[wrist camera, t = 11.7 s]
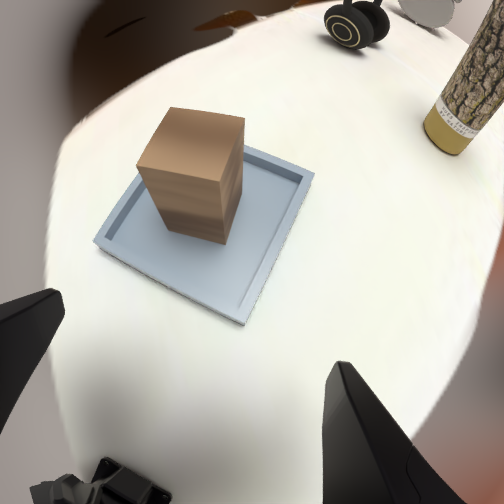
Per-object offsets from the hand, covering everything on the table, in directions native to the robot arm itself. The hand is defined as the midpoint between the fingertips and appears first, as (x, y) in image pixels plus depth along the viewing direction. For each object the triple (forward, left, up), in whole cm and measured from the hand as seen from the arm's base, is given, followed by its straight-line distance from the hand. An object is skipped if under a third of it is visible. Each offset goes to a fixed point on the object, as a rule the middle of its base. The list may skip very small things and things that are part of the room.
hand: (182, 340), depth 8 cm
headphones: (+51, +2, -14) cm, 52 cm away
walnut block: (+10, +6, -13) cm, 17 cm away
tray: (+10, +6, -14) cm, 18 cm away
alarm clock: (+88, -11, -14) cm, 89 cm away
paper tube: (+35, -15, -14) cm, 40 cm away
